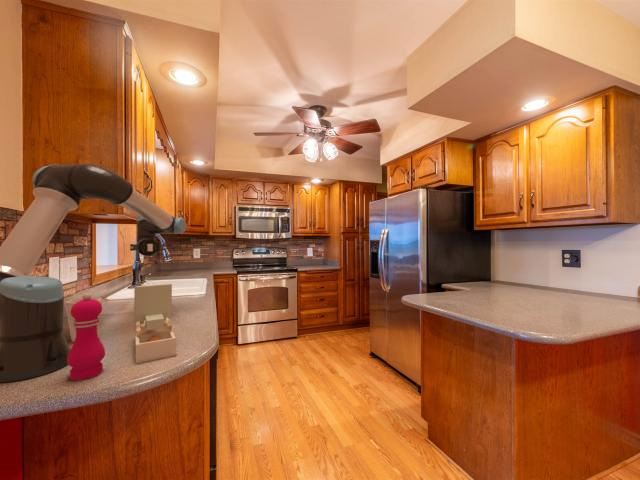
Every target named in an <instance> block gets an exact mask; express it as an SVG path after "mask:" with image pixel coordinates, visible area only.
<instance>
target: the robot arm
mask: <svg viewBox="0 0 640 480" xmlns="http://www.w3.org/2000/svg"><path fill="white" fill-rule="evenodd" d="M31 183H33V185H32V188H33V189H32V195H33V196H34V200H32V202H31V203H30V205H29V206H28V208H27V209H26V211H24V213H23V215H22V216H21V217H20V219H19V220H18V221H17V223H16V224H15V226H14V227H13V228H12V230H11V231H10V233H9V234H8V235H7V237H6V238H5V240H4V241H3V242H2V244H1V245H0V383H7V382H8V383H9V382H10V383H11V382H17V381H23V380H27V379H32V378H36V377H39V376H43V375H47V374H50V373H53V372H55V371H58V370H60V369H63V368H64V367H66V366H67V365H68V363H67V358H68V354H69V351H70V350H71V347H70V345H69V344H68V341H67V339H66V337H65V335H64V298H65V297H64V296H65V292H64V287H63V286H64V285H63V282H62V281H61V280H60V279H59V278H55V277H52V276H51V277H49V276H41V275H38V276H34V275H33V276H31V275H30V274H31V272H32V270H33V269H34V268H35V266H36V264H37V262H38V261H39V259H40V257H42V255H43V253H44V251H45V250H46V248H47V246H48V245H49V243H50V241H51V240H52V238H53V236H55V234H56V232H57V231H58V229H59V227H60V225H61V224H62V223H63V221H64V219H65V218H66V216H67V214H68V213H69V212H72V211H76V210H77V209H78V208H79V206H80V204H82V202H83V200H101V201H106V202H109V203H111V204H112V205H119V206H122V207H123V208H125V209H126V210H128V211H130V212H132V213H133V214H135V215H136V216H137V221H136V243H135V244H134V243H131V244H130V245H129V250H130V251H131V252H132V251H137V252H138V254H140V255H141V256H144V257H146V258H148V257H150V256H153V255H154V254H156V253H157V252H159V251H165V250H166V244H165V243H163V244H159V243H157V241H156V237H157V235H178V234H183V233H185V232H186V229H187V222H186V219H184V218H183V217H176V216H173V215H172V214H170V213H169V212H167V211H166V210H164V209H162V207H160V206H159V205H157V204H156V203H154V202H153V201H152V200H150V199H149V198H147V197H146V196H145V195H143V194H142V193H141V192H139V191H138V190H136V189H134V185H133V184H132V183H131V182H130V181H128V180H127V179H125V178H124V177H122V176H121V175H119V174H118V173H115V172H113V171H112V170H110V169H107V168H105V167H103V166H100V165H98V164H97V165H96V164H92V163H91V164H90V163H80V164H79V163H78V164H77V163H75V164H72V163H71V164H50V165H45V166H42V167H41V168H39V169H37V170H36V171H35V173H33V176H32V179H31Z"/></svg>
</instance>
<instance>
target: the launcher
mask: <svg viewBox="0 0 640 480" xmlns="http://www.w3.org/2000/svg"><path fill="white" fill-rule="evenodd" d="M135 330H136V335H137V336H140V335H146V334H153V333H159V332H165V331H171V330H172V331H173V325H172V323H171V322H170V319H169V318H164V328H159V329H153V330H146V325H145V321H139V322H135Z"/></svg>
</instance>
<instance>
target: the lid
mask: <svg viewBox="0 0 640 480" xmlns="http://www.w3.org/2000/svg"><path fill="white" fill-rule="evenodd" d="M172 286H173V284H172V283H164V284H152V285H137V286H133V287H134V289H133V290H134V291H133V293H134V295H133V296H134V304H133V305H134V309H133V310H134V311H133V313H134V317H133V318H134V323H136V322H139V321H145V325H146V330H153V329H159V328H164V318H168V319H169V318H172V317H173V316H172V314H173V311H172V309H173V308H172V305H173V300H172V298H173V297H172V296H173V289H172V288H173V287H172Z"/></svg>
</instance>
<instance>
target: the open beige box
mask: <svg viewBox="0 0 640 480" xmlns="http://www.w3.org/2000/svg"><path fill="white" fill-rule="evenodd" d="M154 336H158V337H160V338H161V339H162V340H157V341H151V342H148V340H149V339H150V338H151V337H154ZM134 341H135V348H134V349H135V351H134V352H135V364H136V365H137V364H141V363H146V362H151V361H156V360H160V359H166V358H171V357H175V356H177V338H176V335H175V333H174V330H173V329H172V330H171V331H165V332H159V333H153V334H146V335H140V336H137V334H135V340H134Z"/></svg>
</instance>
